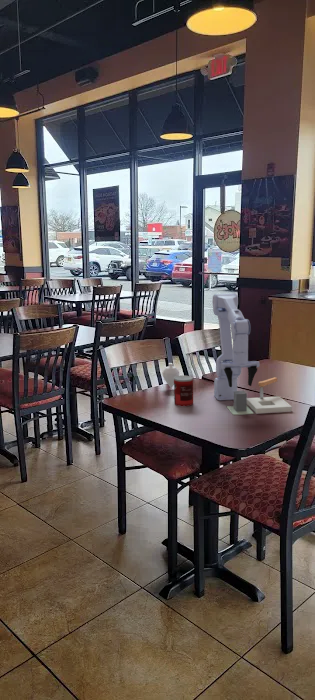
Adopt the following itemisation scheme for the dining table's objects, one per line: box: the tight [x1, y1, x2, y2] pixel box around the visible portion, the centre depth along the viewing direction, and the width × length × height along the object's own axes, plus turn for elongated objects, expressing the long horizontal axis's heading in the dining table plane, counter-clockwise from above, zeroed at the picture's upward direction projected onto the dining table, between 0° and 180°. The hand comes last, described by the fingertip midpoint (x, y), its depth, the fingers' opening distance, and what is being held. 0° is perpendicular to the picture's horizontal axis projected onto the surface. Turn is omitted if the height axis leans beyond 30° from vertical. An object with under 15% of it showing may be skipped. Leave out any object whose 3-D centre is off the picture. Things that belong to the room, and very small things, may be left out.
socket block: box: [247, 386, 293, 415], centre depth 203 cm, size 14×14×7 cm
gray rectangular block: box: [233, 390, 248, 412], centre depth 199 cm, size 4×4×7 cm
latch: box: [258, 376, 278, 388], centre depth 210 cm, size 11×2×2 cm, turn 134°
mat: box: [226, 405, 255, 416], centre depth 200 cm, size 8×10×1 cm
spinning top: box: [162, 362, 180, 390], centre depth 232 cm, size 8×8×12 cm
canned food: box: [173, 375, 194, 407], centre depth 210 cm, size 8×8×11 cm
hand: (240, 385), depth 198 cm, fingers open, 7 cm apart
